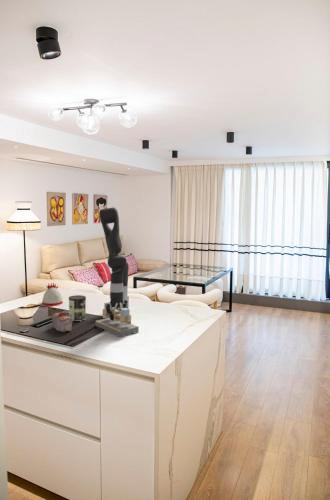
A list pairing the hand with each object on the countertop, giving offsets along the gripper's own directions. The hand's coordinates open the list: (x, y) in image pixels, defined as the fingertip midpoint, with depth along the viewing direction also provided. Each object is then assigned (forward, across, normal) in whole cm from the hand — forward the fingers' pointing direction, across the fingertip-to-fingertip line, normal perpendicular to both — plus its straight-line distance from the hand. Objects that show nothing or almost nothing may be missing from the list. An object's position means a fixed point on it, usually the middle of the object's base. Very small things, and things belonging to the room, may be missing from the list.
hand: (116, 319), depth 211 cm
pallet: (+1, 0, 0) cm, 1 cm away
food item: (+6, +25, -18) cm, 31 cm away
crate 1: (-4, 0, -8) cm, 9 cm away
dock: (+6, 0, 0) cm, 6 cm away
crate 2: (-4, 0, +8) cm, 9 cm away
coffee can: (+6, +8, -30) cm, 32 cm away
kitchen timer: (+6, +2, -75) cm, 75 cm away
